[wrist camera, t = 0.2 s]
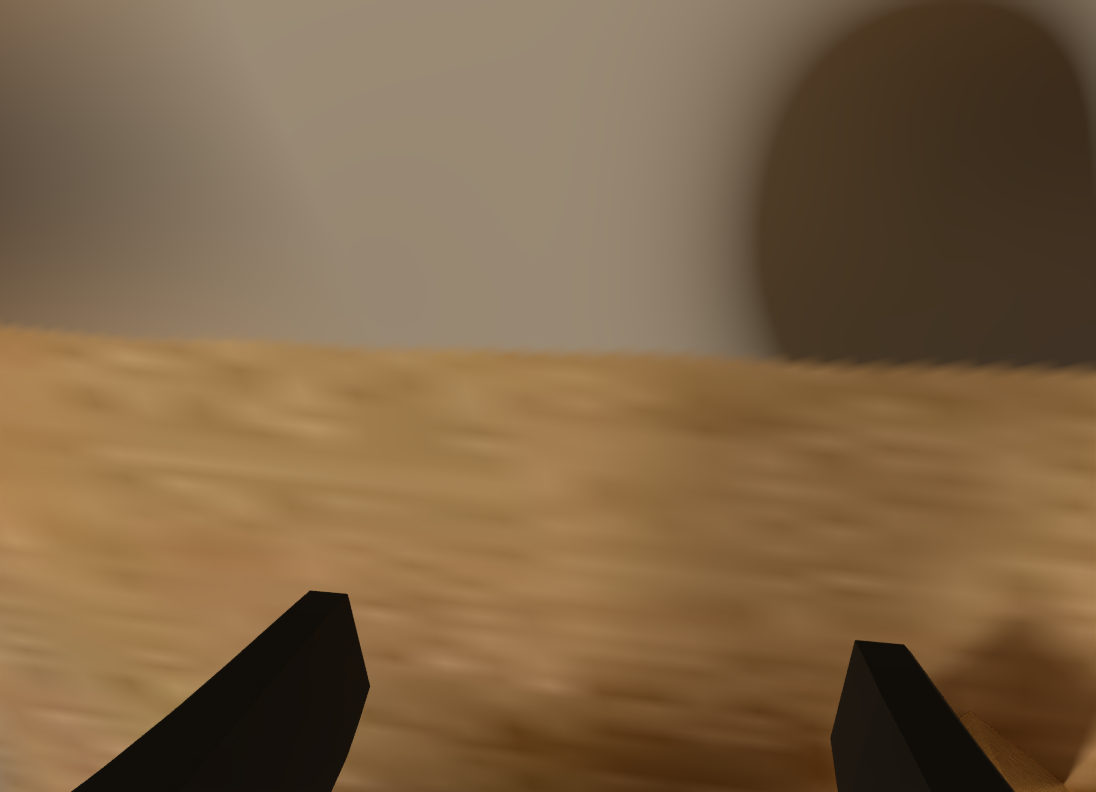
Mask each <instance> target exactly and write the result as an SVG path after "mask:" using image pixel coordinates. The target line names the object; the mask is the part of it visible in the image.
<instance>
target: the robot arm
mask: <svg viewBox="0 0 1096 792" xmlns="http://www.w3.org/2000/svg"><path fill="white" fill-rule="evenodd" d="M369 688H370V684H369V680H368V676H367V672H366V667H365V663H364V659H363V655H362V651H361V647H360V643H359V639H358V634H357V630H356V626H355V622H354V618H353V614H352V610H351V606H350V601H349V597H348V594H342V593H331V592H320V591H309V592H308V593H307V594H305V595H304V596H303V597H302V598H301V599H300V600H299V601H297V602H296V603H295V604H294V605H293V606H292V607H291V608H289V609H288V610H287V611H286V612H285V613H284V614H283V615H282V616H280V617H279V618H278V619H277V620H276V621H275V622H274V623H273V624H271V625H270V626H269V627H268V628H267V629H266V630H265V631H264V632H262V633H261V634H260V635H259V636H258V637H257V638H256V639H255V640H254V641H252V642H251V643H250V644H249V645H248V646H247V647H246V648H245V649H243V650H242V651H241V652H240V653H239V654H238V655H237V656H236V657H235V658H233V659H232V660H231V661H230V662H229V663H228V664H227V665H226V666H224V667H223V668H222V669H221V670H220V671H219V672H217V673H216V674H215V675H214V676H213V677H212V678H211V679H209V680H208V681H207V682H206V683H205V684H204V685H202V686H201V687H200V688H199V689H198V690H197V691H196V692H194V693H193V694H192V695H191V696H190V697H189V698H187V699H186V700H185V701H184V702H183V703H182V704H181V705H179V706H178V707H177V708H176V709H175V710H173V711H172V712H171V713H170V714H169V715H167V716H166V717H165V718H164V719H163V720H161V721H160V722H159V723H158V724H156V725H155V726H154V727H153V728H151V729H150V730H149V731H148V732H146V733H145V734H144V735H143V736H142V737H140V738H139V739H138V740H137V741H135V742H134V743H133V744H132V745H130V746H129V747H128V748H127V749H125V750H124V751H123V752H122V753H121V754H119V755H118V756H117V757H116V758H114V759H113V760H112V761H111V762H109V763H108V764H107V765H106V766H104V767H103V768H102V769H101V770H99V771H98V772H97V773H95V774H94V775H93V776H91V777H90V778H89V779H88V780H86V781H85V782H84V783H82V784H81V785H80V786H78V787H77V788H76V789H74V790H73V791H71V792H331V791H332V789H333V787H334V785H335V783H336V780H337V778H338V776H339V774H340V771H341V769H342V767H343V765H344V762H345V760H346V758H347V756H348V753H349V750H350V747H351V744H352V741H353V738H354V735H355V732H356V729H357V726H358V723H359V720H360V717H361V714H362V711H363V707H364V704H365V701H366V698H367V695H368V692H369ZM831 746H832V753H833V760H834V767H835V774H836V781H837V788H838V792H1015V791H1014V790H1013V788H1012V787H1011V786H1010V785H1009V783H1008V782H1007V781H1006V780H1005V778H1004V777H1003V776H1002V775H1001V773H1000V772H999V771H998V769H997V768H996V767H995V765H994V764H993V763H992V762H991V760H990V759H989V758H988V756H987V755H986V754H985V752H984V751H983V750H982V749H981V747H980V746H979V745H978V743H977V742H976V741H975V739H974V738H973V737H972V735H971V734H970V733H969V731H968V730H967V729H966V727H965V726H964V725H963V723H962V722H961V721H960V719H959V718H958V717H957V715H956V714H955V712H954V711H953V710H952V708H951V707H950V706H949V704H948V703H947V702H946V700H945V699H944V697H943V696H942V695H941V693H940V692H939V691H938V689H937V688H936V686H935V685H934V684H933V682H932V681H931V679H930V678H929V677H928V675H927V674H926V673H925V671H924V670H923V668H922V667H921V666H920V664H919V663H918V661H917V660H916V659H915V657H914V656H913V654H912V653H911V652H910V651H909V650H908V648H907V647H906V646H905V645H903V644H892V643H881V642H870V641H859V640H855V642H854V646H853V650H852V654H851V658H850V662H849V666H848V670H847V674H846V678H845V682H844V686H843V690H842V694H841V698H840V702H839V706H838V710H837V714H836V718H835V722H834V726H833V730H832V734H831Z"/></svg>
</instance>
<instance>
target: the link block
mask: <svg viewBox="0 0 1096 792" xmlns="http://www.w3.org/2000/svg"><path fill="white" fill-rule="evenodd" d="M960 721H961V722H962V723H963V725H964V726H965V727H966V729H967V730H968V731H969V733H970V734H971V735H972V737H973V738H974V739H975V741H976V742H977V743H978V745H979V746H980V747H981V749H982V750H983V751H984V752H985V754H986V755H987V756H988V758H989V759H990V760H991V762H992V763H993V764H994V765H995V767H996V768H997V769H998V771H999V772H1000V773H1001V775H1002V776H1003V777H1004V778H1005V780H1006V781H1007V782H1008V783H1009V785H1010V786H1011V787H1012V788H1013V790H1014V791H1015V792H1069V791H1068V790H1067V788H1066V787H1065V785H1064V784H1063V783H1062V782H1061V781H1059V780H1058V779H1057V778H1055V777H1054V776H1053V775H1052V774H1050V773H1049V772H1048V771H1046V770H1045V769H1044V768H1042V767H1041V766H1040V765H1039V764H1037V763H1036V762H1035V761H1033V760H1032V759H1031V758H1030V757H1028V756H1027V755H1026V754H1024V753H1023V752H1022V751H1021V750H1019V749H1018V748H1017V747H1015V746H1014V745H1013V744H1011V743H1010V742H1009V741H1008V740H1006V739H1005V738H1004V737H1002V736H1001V735H1000V734H999V733H997V732H996V731H995V730H993V729H992V728H991V727H990V726H988V725H987V724H986V723H984V722H983V721H982V720H980V719H979V718H978V717H977V716H975V715H974V714H973V713H971V712H968V713H967V714H965V715H964V716H963V717H961V718H960Z"/></svg>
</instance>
